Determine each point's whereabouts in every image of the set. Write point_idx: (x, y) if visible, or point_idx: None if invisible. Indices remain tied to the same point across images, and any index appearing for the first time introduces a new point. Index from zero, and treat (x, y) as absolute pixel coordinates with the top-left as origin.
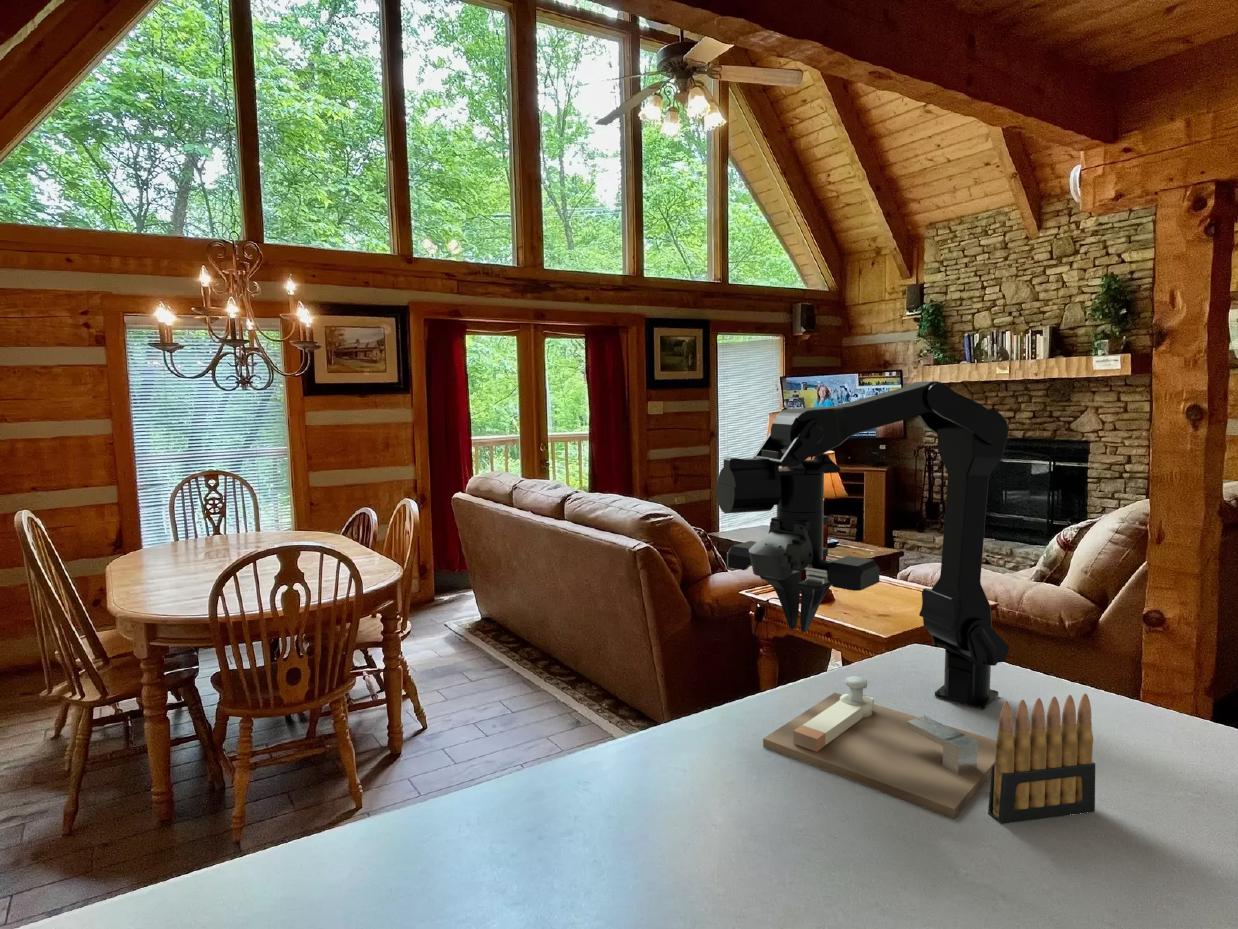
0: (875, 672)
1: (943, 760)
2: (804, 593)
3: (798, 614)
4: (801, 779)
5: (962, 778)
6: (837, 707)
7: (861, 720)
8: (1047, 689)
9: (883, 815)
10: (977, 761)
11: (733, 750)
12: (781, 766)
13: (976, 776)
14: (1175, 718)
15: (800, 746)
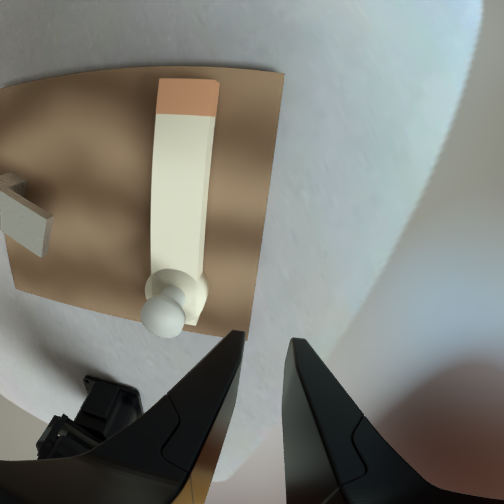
0: (235, 427)
1: (20, 181)
2: (146, 482)
3: (282, 414)
4: (175, 20)
5: (7, 165)
6: (186, 245)
7: None
8: None
9: (59, 30)
10: None
11: (325, 36)
12: (221, 33)
13: None
14: (11, 397)
15: None
